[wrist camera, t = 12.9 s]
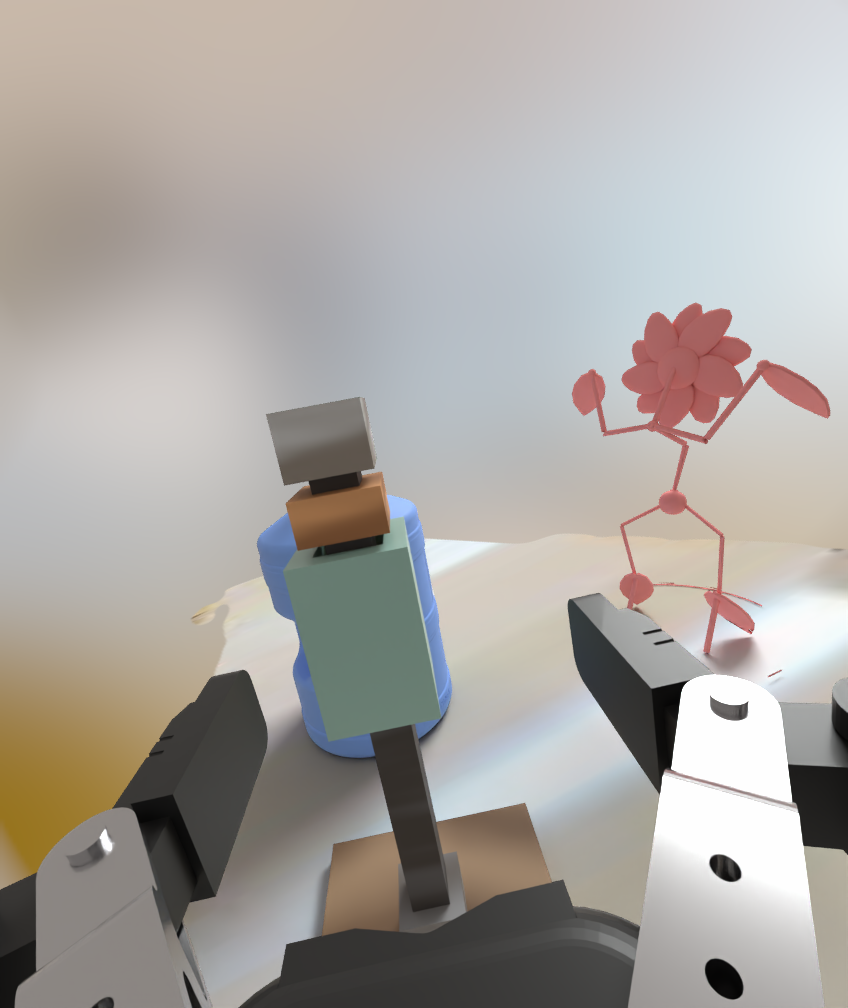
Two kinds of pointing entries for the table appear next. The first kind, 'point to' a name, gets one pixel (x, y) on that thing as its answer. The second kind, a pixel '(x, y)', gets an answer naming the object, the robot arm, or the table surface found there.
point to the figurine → (696, 388)
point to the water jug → (274, 557)
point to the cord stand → (416, 835)
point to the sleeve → (364, 635)
